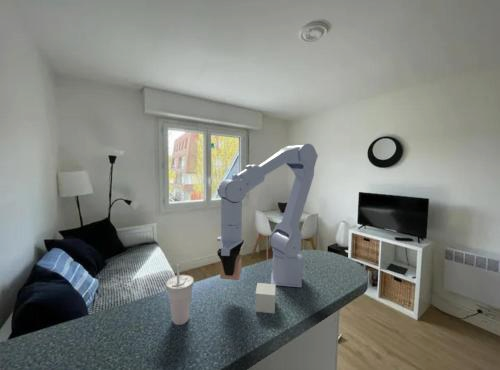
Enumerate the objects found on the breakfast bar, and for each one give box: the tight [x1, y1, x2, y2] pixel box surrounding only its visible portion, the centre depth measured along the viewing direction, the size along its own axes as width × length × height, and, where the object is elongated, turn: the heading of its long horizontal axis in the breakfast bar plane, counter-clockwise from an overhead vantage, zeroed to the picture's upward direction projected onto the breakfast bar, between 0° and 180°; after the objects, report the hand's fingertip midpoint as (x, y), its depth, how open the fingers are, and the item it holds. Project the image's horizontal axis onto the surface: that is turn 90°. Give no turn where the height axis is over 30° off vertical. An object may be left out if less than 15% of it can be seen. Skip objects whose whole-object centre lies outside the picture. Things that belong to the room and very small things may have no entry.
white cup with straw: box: [165, 263, 195, 326], centre depth 53 cm, size 6×6×14 cm
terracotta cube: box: [219, 253, 243, 281], centre depth 62 cm, size 5×5×5 cm
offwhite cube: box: [254, 282, 277, 314], centre depth 58 cm, size 5×5×5 cm
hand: (231, 269), depth 62 cm, fingers closed on terracotta cube, 5 cm apart
